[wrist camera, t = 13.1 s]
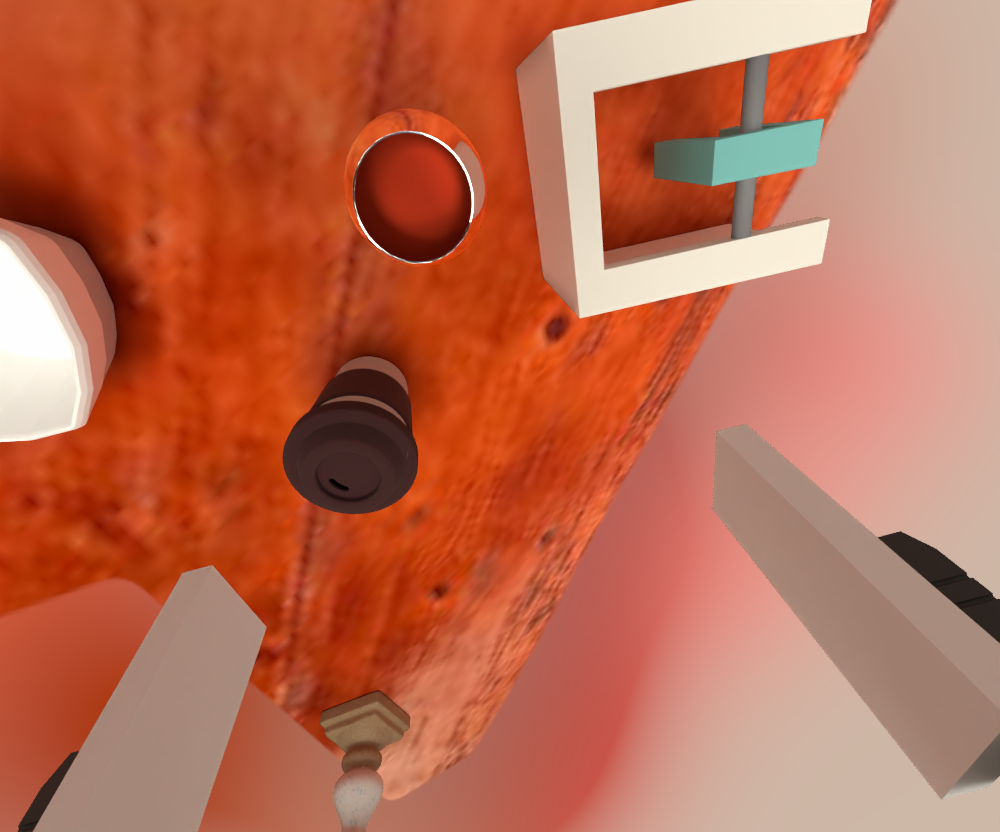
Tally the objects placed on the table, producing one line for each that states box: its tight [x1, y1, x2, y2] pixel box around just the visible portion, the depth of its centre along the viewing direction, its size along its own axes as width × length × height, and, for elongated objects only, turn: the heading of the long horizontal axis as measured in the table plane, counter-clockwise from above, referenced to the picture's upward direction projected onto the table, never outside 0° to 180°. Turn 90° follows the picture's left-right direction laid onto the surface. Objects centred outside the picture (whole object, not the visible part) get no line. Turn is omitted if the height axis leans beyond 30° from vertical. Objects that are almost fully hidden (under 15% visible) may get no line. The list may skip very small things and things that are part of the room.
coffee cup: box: [283, 356, 418, 514], centre depth 39 cm, size 10×10×15 cm
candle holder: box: [320, 691, 410, 832], centre depth 65 cm, size 11×11×24 cm
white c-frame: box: [516, 0, 872, 318], centre depth 33 cm, size 16×18×12 cm
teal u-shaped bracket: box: [654, 119, 824, 186], centre depth 30 cm, size 2×6×9 cm, turn 100°
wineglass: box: [344, 108, 487, 267], centre depth 29 cm, size 8×8×18 cm
